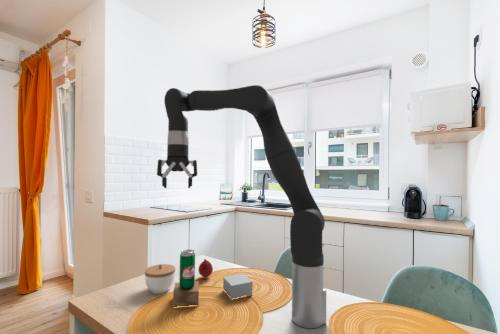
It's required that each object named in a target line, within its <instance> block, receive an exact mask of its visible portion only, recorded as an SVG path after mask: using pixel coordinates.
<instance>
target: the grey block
mask: <svg viewBox="0 0 500 334" xmlns="http://www.w3.org/2000/svg"><path fill="white" fill-rule="evenodd" d="M222 283H223V286H222V289H223V288H224V290H225V291H226V292H227V294H228V295H229V296H230V297H231V299H232V298H237V297H241V296H244V295H247V296H249V297H252V296H253V281H252V280H251V279H250V278H249V277H247V276H246V275H245V274H244V273H240V274H235V275H229V276H228V275H227V276H223V282H222ZM231 299H230V300H231Z"/></svg>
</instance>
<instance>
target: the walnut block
mask: <svg viewBox="0 0 500 334" xmlns="http://www.w3.org/2000/svg"><path fill="white" fill-rule="evenodd" d="M199 289H200V288H199V280H198V281H197V280H196V281H195V285H194V286H193V288H191V289H182V288H180V286H179V282H175V283H174V287H173V291H172V292H173V293H172V294H173V299H172V304H173V305H172V308H173V307H177V306H189V305H198V306H199Z"/></svg>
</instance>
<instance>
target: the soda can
mask: <svg viewBox="0 0 500 334" xmlns="http://www.w3.org/2000/svg"><path fill="white" fill-rule="evenodd" d="M195 275H196V253H195V249H194V250H193V249H183V250H181V252H180V254H179V278H178V279H179V282H178V283H179V286H180V288H182V289H191V288H193V286H194V285H195V280H196V276H195Z"/></svg>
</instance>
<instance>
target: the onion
mask: <svg viewBox="0 0 500 334" xmlns="http://www.w3.org/2000/svg"><path fill="white" fill-rule="evenodd" d="M213 270H214V268H213V265H212V263H211V262H210V261H209V260H208V259H206V258H204V259H203V261H202V262H201V263H200V264H199V265H198V273H199V275H200V276H202V278H204V279H207V278H209V277H210V276H211V275H212V274H213Z"/></svg>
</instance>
